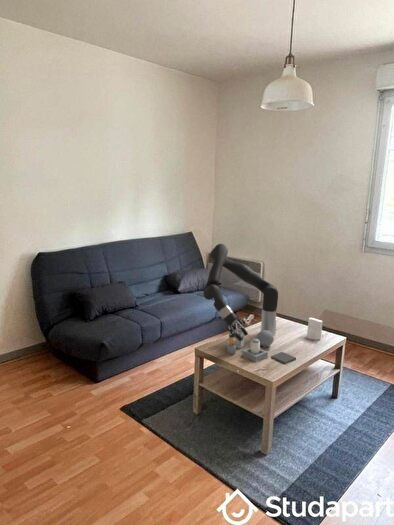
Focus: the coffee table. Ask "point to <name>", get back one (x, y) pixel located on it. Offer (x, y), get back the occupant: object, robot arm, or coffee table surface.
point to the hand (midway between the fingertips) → (244, 337)
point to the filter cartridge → (255, 346)
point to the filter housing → (247, 353)
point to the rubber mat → (283, 357)
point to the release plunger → (232, 340)
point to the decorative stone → (265, 338)
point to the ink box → (238, 343)
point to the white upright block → (314, 328)
